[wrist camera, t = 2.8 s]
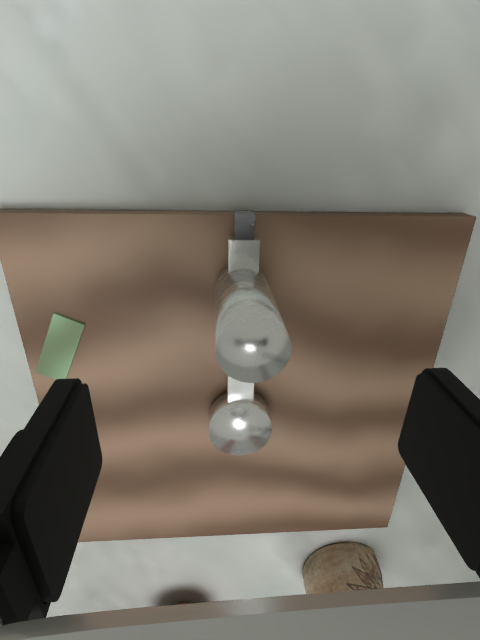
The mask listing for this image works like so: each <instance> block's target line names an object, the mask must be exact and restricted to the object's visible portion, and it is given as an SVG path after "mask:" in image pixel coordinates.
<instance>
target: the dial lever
mask: <svg viewBox="0 0 480 640" xmlns="http://www.w3.org/2000/svg"><path fill="white" fill-rule="evenodd" d="M254 229H255V213H254V211H234V236H228V268H226V269H225V270H224V271H223V272H222V273H221V274H220V275H219V277H218V279H217V281H216V286H215V320H216V358H217V361H218V364H219V366H220V367H221V369H222V370H223V371H224V372H225V373H226V374H227V393H226V394H224V395H222V396H220V397H219V398H218V399H217V400H215V402H214V403H213V404H212V406H211V408H210V412H209V437H210V440H211V442H212V443H213V445H214V446H215V447H216V448H217V449H219V450H220V451H222V452H224V453H227V454H231V455H246V454H250V453H253V452H256V451H258V450H259V449H261V448H262V447H263V446H265V444H266V443H267V442H268V441H269V439H270V437H271V434H272V425H271V420H270V415H269V410H268V407H267V404H266V402H265V401H264V400H263V399H262V398H261V397H260V396H258V395H257V394H255V393H254V383H258V382H263V381H266V380H269V379H271V378H273V377H274V376H276V375H277V374H279V373H280V372H281V371H282V370H283V369H284V368H285V366H286V365H287V363H288V361H289V359H290V356H291V341H290V338H289V335H288V333H287V330H286V328H285V325H284V322H283V320H282V317H281V315H280V312H279V310H278V307H277V304H276V302H275V299H274V297H273V294H272V292H271V289H270V287H269V284H268V281H267V279H266V277H265V275H264V274H263V272H262V271H261V270H260V269H259V254H260V239H259V237H258V236H254Z"/></svg>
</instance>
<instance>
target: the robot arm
mask: <svg viewBox="0 0 480 640" xmlns="http://www.w3.org/2000/svg"><path fill="white" fill-rule="evenodd" d="M398 451H399V454H400V456H401V457H402V459H403V461H404V462H405V464H406V466H407V467H408V469H409V471H410V472H411V474H412V476H413V477H414V479H415V480H416V482H417V484H418V485H419V487H420V489H421V490H422V492H423V494H424V495H425V497H426V499H427V500H428V502H429V504H430V505H431V507H432V509H433V510H434V512H435V513H436V515H437V517H438V518H439V520H440V522H441V523H442V525H443V527H444V528H445V530H446V532H447V533H448V535H449V537H450V538H451V540H452V542H453V543H454V545H455V547H456V548H457V550H458V551H459V553H460V555H461V556H462V558H463V560H464V561H465V563H466V564H467V566H468V567H469V568H470V569H471V570H473V571H476V573H477V574H478V576H479V578H480V399H479V398H478V397H477V396H476V395H474V394H473V393H472V392H471V391H470V390H469V389H468V388H467V387H466V386H465V385H464V384H463V383H462V382H461V381H460V380H459V379H458V378H457V377H456V376H455V375H454V374H453V373H452V372H451V371H450V370H448V369H447V368H426V369H424V370H423V371H422V373H421V374H418V375H417V377H416V379H415V383H414V387H413V390H412V394H411V397H410V401H409V404H408V408H407V412H406V415H405V419H404V422H403V426H402V429H401V433H400V437H399V440H398ZM101 468H102V452H101V447H100V442H99V437H98V432H97V427H96V422H95V417H94V412H93V407H92V402H91V397H90V391H89V387H88V385H87V384H86V383H84V384H82V382H81V380H80V379H79V378H72V379H56V380H55V381H54V382H53V384H52V386H51V387H50V389H49V390H48V392H47V393H46V395H45V397H44V398H43V400H42V401H41V403H40V405H39V406H38V408H37V409H36V411H35V412H34V414H33V416H32V417H31V419H30V420H29V422H28V424H27V425H26V427H25V428H24V430H20V431H18V432H17V433H16V434H15V435H14V437H13V438H12V440H11V441H10V443H9V444H8V446H7V447H6V449H5V450H4V452H3V454H2V455H1V457H0V640H480V582H467V583H453V584H439V585H425V586H410V587H396V588H383V589H370V590H356V591H343V592H330V593H317V594H304V595H291V596H278V597H265V598H253V599H240V600H228V601H216V602H204V603H192V604H180V605H168V606H156V607H144V608H133V609H123V610H113V611H103V612H93V613H83V614H73V615H63V616H55V617H49V618H46V615H47V612H48V609H49V606H50V603H51V602H56V601H57V600H58V599H59V597H60V595H61V592H62V589H63V586H64V583H65V580H66V577H67V574H68V571H69V568H70V565H71V561H72V558H73V555H74V552H75V549H76V546H77V543H78V540H79V537H80V533H81V530H82V527H83V524H84V521H85V518H86V515H87V512H88V509H89V506H90V502H91V499H92V496H93V493H94V490H95V487H96V484H97V481H98V478H99V474H100V471H101Z"/></svg>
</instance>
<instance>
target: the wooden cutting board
mask: <svg viewBox="0 0 480 640" xmlns="http://www.w3.org/2000/svg"><path fill="white" fill-rule="evenodd" d="M254 213H255V229H254V236H258V237H259V239H260V254H259V269H260V270H261V271H262V272H263V274H264V275H265V277H266V279H267V281H268V284H269V287H270V289H271V292H272V294H273V297H274V299H275V302H276V304H277V307H278V310H279V312H280V315H281V317H282V320H283V322H284V325H285V328H286V330H287V333H288V335H289V338H290V341H291V356H290V359H289V361H288V363H287V365H286V366H285V368H284V369H283V370H282V371H281V372H280V373H279V374H277V375H276V376H274V377H273V378H271V379H269V380H266V381H263V382H258V383H254V393H255V394H257V395H258V396H260V397H261V398H262V399H263V400H264V401H265V402H266V404H267V407H268V410H269V415H270V420H271V425H272V434H271V437H270V439H269V441H268V442H267V443H266V444H265V446H263V447H262V448H261V449H259V450H258V451H256V452H253V453H250V454H246V455H231V454H227V453H224V452H222V451H220V450H219V449H217V448H216V447H215V446H214V445H213V443H212V442H211V440H210V437H209V412H210V408H211V406H212V404H213V403H214V402H215V400H217V399H218V398H219V397H220V396H222V395H224V394H226V393H227V374H226V373H225V372H224V371H223V370H222V369H221V367H220V366H219V364H218V361H217V358H216V320H215V286H216V281H217V279H218V277H219V275H220V274H221V273H222V272H223V271H224V270H225V269H226V268H228V236H234V211H156V210H44V209H0V260H1V263H2V267H3V271H4V275H5V278H6V282H7V286H8V290H9V293H10V297H11V301H12V305H13V308H14V312H15V316H16V320H17V323H18V327H19V331H20V334H21V338H22V342H23V346H24V349H25V353H26V357H27V361H28V364H29V368H30V372H31V376H32V379H33V383H34V387H35V391H36V394H37V398H38V402H39V405H40V403H41V401H42V400H43V398H44V397H45V395H46V393H47V392H48V390H49V389H50V387H51V386H52V384H53V382H54V381H55V380H56V379H72V378H79V379H80V380H81V382H82V384H84V383H86V384H87V385H88V387H89V391H90V397H91V402H92V407H93V412H94V417H95V422H96V427H97V432H98V437H99V442H100V447H101V452H102V468H101V471H100V474H99V478H98V481H97V484H96V487H95V490H94V493H93V496H92V499H91V502H90V506H89V509H88V512H87V515H86V518H85V521H84V524H83V527H82V530H81V533H80V537H79V540H78V542H90V541H111V540H131V539H152V538H173V537H194V536H214V535H235V534H256V533H277V532H297V531H318V530H339V529H360V528H380V527H388V523H389V520H390V516H391V513H392V509H393V506H394V502H395V499H396V495H397V492H398V488H399V485H400V481H401V478H402V474H403V471H404V467H405V462H404V461H403V459H402V457H401V456H400V454H399V451H398V440H399V437H400V433H401V429H402V426H403V422H404V419H405V415H406V412H407V408H408V404H409V401H410V397H411V394H412V390H413V387H414V383H415V379H416V377H417V375H418V374H421V373H422V371H423V370H424V369H426V368H433V366H434V363H435V359H436V356H437V352H438V349H439V346H440V342H441V339H442V335H443V332H444V328H445V325H446V321H447V318H448V314H449V311H450V307H451V304H452V300H453V297H454V293H455V290H456V286H457V283H458V279H459V276H460V272H461V269H462V265H463V262H464V258H465V255H466V251H467V248H468V245H469V241H470V238H471V234H472V231H473V227H474V224H475V220H476V217H475V216H471V215H468V214H464V213H379V212H267V211H254Z"/></svg>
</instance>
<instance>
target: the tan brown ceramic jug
mask: <svg viewBox="0 0 480 640" xmlns="http://www.w3.org/2000/svg"><path fill="white" fill-rule="evenodd" d="M303 579H304V586H305V591H306V594H317V593H330V592H343V591H356V590H370V589H383V581H382V574H381V570H380V568H379V565H378V562H377V559H376V556H375V554H374V553H373V551H372V550H371V549H370V548H369V547H367V546H365V545H362V544H359V543H354V542H345V543H337V544H332V545H329V546H325V547H323V548H321V549H319V550H317V551H315V552H314V553H313V554H311V555H310V556H309V558H308V559H307V560H306V562H305V565H304V568H303Z"/></svg>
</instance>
